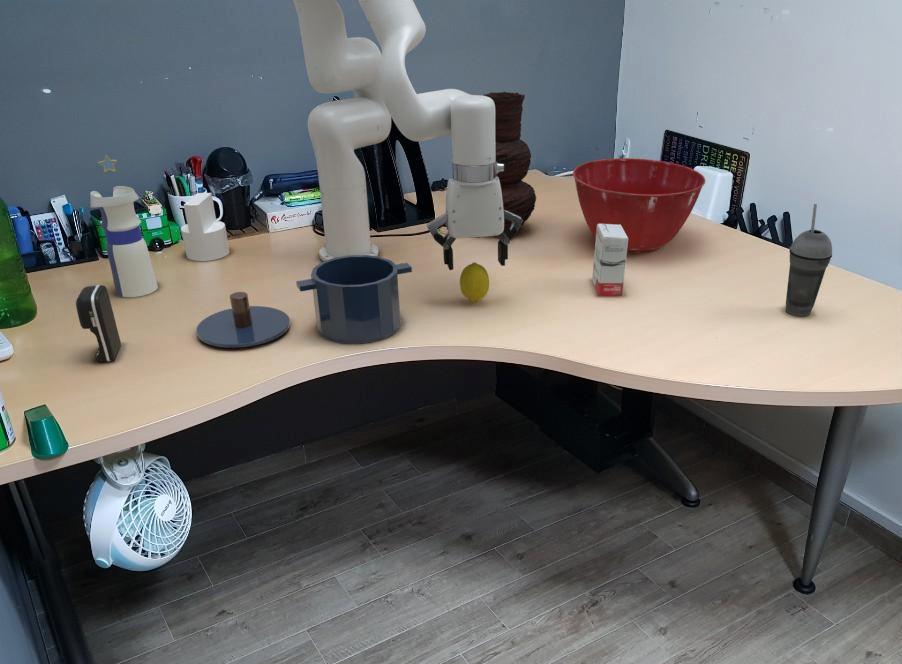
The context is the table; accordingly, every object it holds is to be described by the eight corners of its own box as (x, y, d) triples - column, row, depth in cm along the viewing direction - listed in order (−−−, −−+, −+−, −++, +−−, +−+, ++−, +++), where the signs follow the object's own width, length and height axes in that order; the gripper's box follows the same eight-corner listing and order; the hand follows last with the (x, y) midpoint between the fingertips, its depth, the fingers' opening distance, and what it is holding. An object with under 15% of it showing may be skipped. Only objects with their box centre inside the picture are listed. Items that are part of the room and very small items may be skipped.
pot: (293, 320, 145) (286, 265, 139) (397, 300, 152) (394, 248, 147) (316, 353, 133) (309, 295, 128) (427, 330, 141) (425, 274, 136)
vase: (456, 232, 186) (453, 96, 171) (493, 216, 197) (494, 86, 182) (511, 245, 179) (513, 104, 163) (547, 227, 190) (552, 93, 174)
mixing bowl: (713, 236, 185) (724, 168, 177) (667, 275, 164) (676, 200, 156) (602, 215, 198) (607, 151, 190) (546, 249, 177) (549, 179, 169)
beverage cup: (798, 323, 144) (821, 214, 134) (768, 308, 150) (789, 203, 140) (827, 315, 147) (852, 208, 137) (797, 301, 153) (819, 197, 142)
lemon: (486, 309, 149) (485, 269, 145) (457, 307, 150) (456, 266, 146) (491, 298, 154) (492, 258, 150) (463, 295, 155) (463, 256, 150)
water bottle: (104, 290, 156) (70, 160, 143) (146, 278, 162) (116, 151, 149) (124, 301, 151) (90, 168, 139) (166, 288, 157) (137, 159, 144)
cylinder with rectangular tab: (222, 261, 170) (212, 205, 164) (180, 260, 170) (168, 205, 164) (234, 246, 178) (225, 192, 171) (194, 246, 178) (184, 192, 172)
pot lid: (190, 321, 144) (183, 287, 141) (278, 305, 150) (273, 272, 147) (206, 358, 132) (198, 321, 128) (300, 339, 138) (295, 303, 135)
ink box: (623, 296, 155) (629, 237, 149) (597, 296, 154) (602, 237, 148) (615, 279, 162) (621, 222, 156) (591, 279, 162) (595, 222, 156)
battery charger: (98, 345, 136) (80, 282, 130) (122, 343, 136) (105, 281, 130) (89, 365, 130) (70, 299, 124) (114, 362, 130) (96, 297, 125)
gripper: (517, 163, 144) (516, 255, 152) (421, 169, 141) (426, 262, 149) (527, 174, 137) (526, 268, 146) (427, 180, 134) (432, 276, 143)
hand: (475, 265), depth 148 cm, fingers open, 9 cm apart
